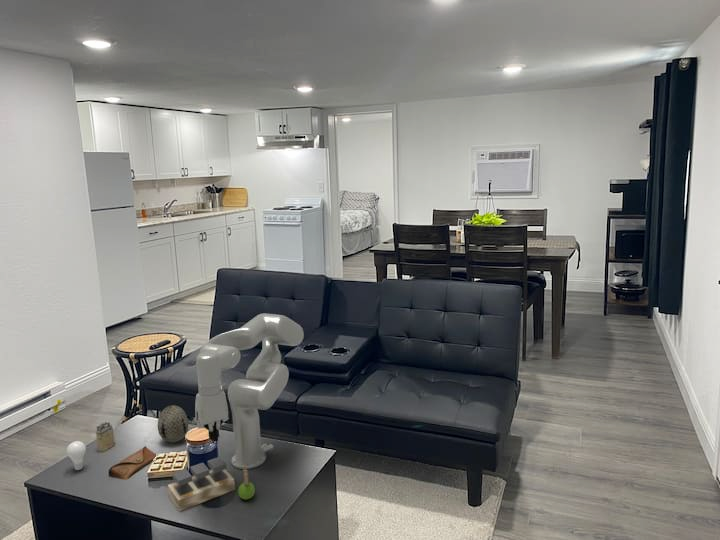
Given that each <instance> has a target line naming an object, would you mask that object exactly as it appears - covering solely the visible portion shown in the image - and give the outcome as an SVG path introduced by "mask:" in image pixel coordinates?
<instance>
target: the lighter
mask: <svg viewBox="0 0 720 540" xmlns="http://www.w3.org/2000/svg"><path fill="white" fill-rule="evenodd" d="M95 432H96V434H95V435H96V444H97V452H105V451H107V450H108V449H112V447H114V446H115V445H116V443H115V434H114V427H113V425H112V424H111V423H110V421H109V422H101V423H100V424H99V425H97V426H96V431H95Z"/></svg>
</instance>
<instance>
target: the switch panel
mask: <svg viewBox="0 0 720 540" xmlns="http://www.w3.org/2000/svg"><path fill="white" fill-rule="evenodd" d="M209 470H210V475H208V476H205V477H203V478H201V479H196V477H195V476H194V475H191V476H192V481H191V482H189V483H186V484H185V485H180V486H179V485H178V484H177V483H176V481H175V482H172V483H169V484H167V492H168V497H169V498H170V500H171V502H173V504H174V505H175V507H176V508H177V509H178V511H179V512H181V511H184V510H186V509H189V508H191V507H192V508H193V507H194V506H197V505H199V504H202V503H205V502H208V501H209V500H212V499H215V498H217V497H220V496H223V495H225V494H227V493H230V492H233V491H235V490H236V484H235V479H234V477H233V476H232V475H231V474H230V473H229V472H228V471H227V469H225V470H222V471H220V472H216V473H214V472H213V471H212V470H211V469H209Z"/></svg>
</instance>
